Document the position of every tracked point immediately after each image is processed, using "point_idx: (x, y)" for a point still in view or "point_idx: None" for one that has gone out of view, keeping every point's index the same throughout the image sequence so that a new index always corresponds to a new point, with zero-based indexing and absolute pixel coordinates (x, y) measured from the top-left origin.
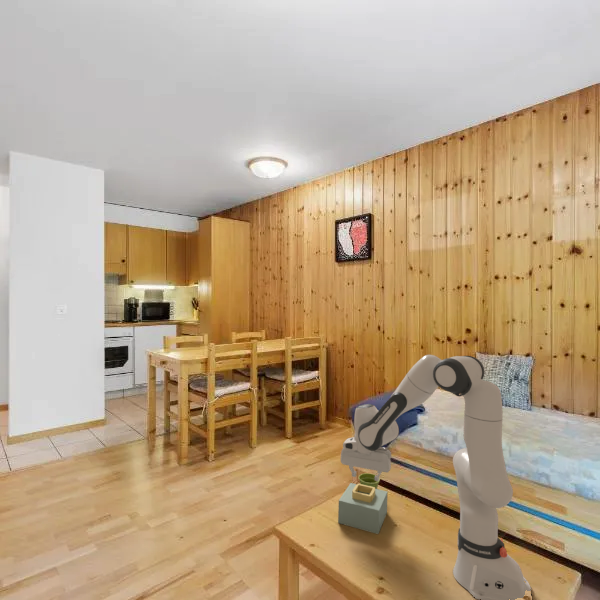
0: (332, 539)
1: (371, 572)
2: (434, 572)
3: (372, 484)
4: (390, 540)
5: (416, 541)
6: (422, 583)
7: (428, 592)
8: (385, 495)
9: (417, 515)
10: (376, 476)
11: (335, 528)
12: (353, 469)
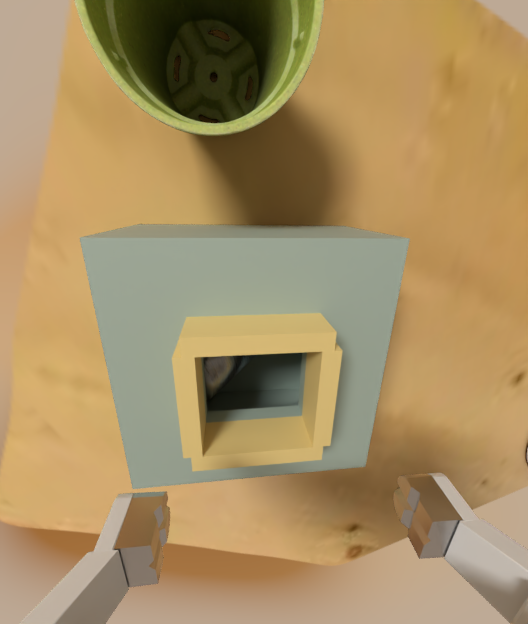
0: None
1: (329, 525)
2: (480, 459)
3: (262, 114)
4: None
5: (453, 365)
6: None
7: None
8: (395, 306)
9: (488, 176)
10: (441, 545)
11: None
12: (96, 589)
